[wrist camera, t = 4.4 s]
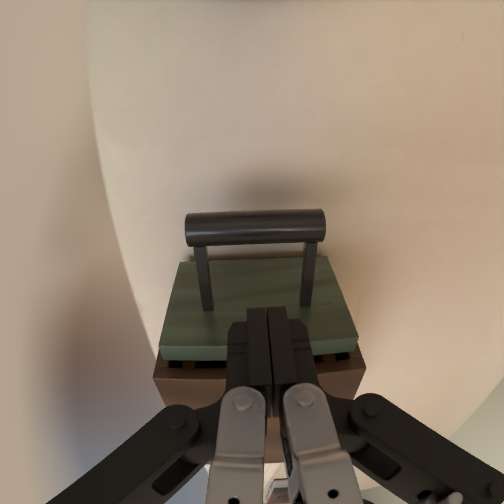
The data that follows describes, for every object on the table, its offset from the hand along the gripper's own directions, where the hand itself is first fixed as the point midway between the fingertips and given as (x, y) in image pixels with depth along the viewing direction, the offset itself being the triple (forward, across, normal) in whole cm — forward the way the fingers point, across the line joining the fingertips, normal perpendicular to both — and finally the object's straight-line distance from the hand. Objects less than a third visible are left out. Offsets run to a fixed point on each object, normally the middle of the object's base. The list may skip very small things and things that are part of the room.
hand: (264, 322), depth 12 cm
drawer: (+9, 0, +7) cm, 12 cm away
